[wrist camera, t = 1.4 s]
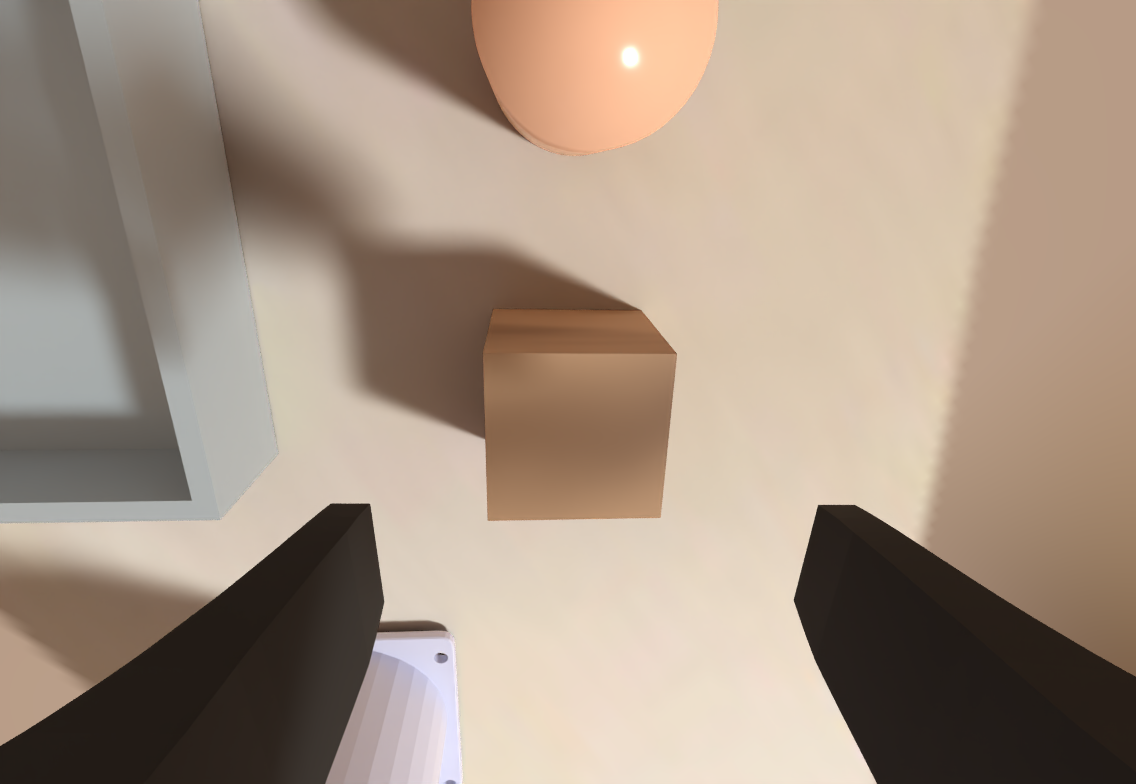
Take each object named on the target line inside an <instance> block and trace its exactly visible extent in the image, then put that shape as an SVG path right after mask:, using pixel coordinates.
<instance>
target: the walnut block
mask: <svg viewBox="0 0 1136 784" xmlns="http://www.w3.org/2000/svg"><path fill="white" fill-rule="evenodd" d="M676 359H677V353H676V352H675V351H674V350H673V349H672V347H671V346H670V345H669V344H668V342H667V341H666V340H665V339H664V338H663V336H662V335H661V334H660V333H659V331H658V330H657V329H656V328H655V327H654V325H653V324H652V323H651V322H650V320H649V319H648V318H647V317H646V316H645V314H644V313H643V312H642V311H641V310H566V309H493V312H492V316H491V320H490V325H489V329H488V333H487V338H486V342H485V346H484V351H483V374H484V408H485V443H486V477H487V512H488V521H498V520H557V519H616V518H660V517H661V507H662V497H663V487H664V477H665V468H666V458H667V448H668V438H669V428H670V418H671V408H672V398H673V388H674V378H675V369H676Z"/></svg>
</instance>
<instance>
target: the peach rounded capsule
mask: <svg viewBox="0 0 1136 784" xmlns="http://www.w3.org/2000/svg"><path fill="white" fill-rule="evenodd" d="M471 13H472V24H473V32H474V37H475V42H476V47H477V50H478V53H479V57H480V60H481V63H482V66H483V68H484V70H485V73H486V75H487V78H488V80H489V82H490V85H491V87H492V90H493V92H494V94H495V97H496V99H497V101H498V103H499V106H500V108H501V110H502V111H503V113H504V114H505V116H506V118H507V119H508V120H509V122H510V123H511V124H512V126H513V127H514V128H515V129H516V130H517V131H518V132H519V133H520V134H521V135H522V136H523V137H525V138H526V139H527V140H529V141H530V142H531V143H533V144H535V145H536V146H538V147H540V148H542V149H544V150H547V151H549V152H552V153H556V154H560V155H568V156H582V155H588V154H593V153H598V152H602V151H606V150H611V149H615V148H619V147H623V146H626V145H629V144H632V143H635V142H637V141H639V140H641V139H643V138H645V137H647V136H649V135H651V134H652V133H653V132H655V131H656V130H658V129H659V128H661V127H662V126H663V125H665V124H666V123H667V122H668V121H669V120H670V119H671V118H673V117H674V116H675V115H676V113H677V112H678V111H679V110H680V109H681V108H682V107H683V106H684V105H685V103H686V102H687V100H688V99H689V98H690V96H691V95H692V93H693V92H694V90H695V89H696V87H697V85H698V83H699V81H700V79H701V77H702V76H703V73H704V71H705V68H706V66H707V63H708V61H709V58H710V55H711V51H712V48H713V44H714V40H715V34H716V28H717V21H718V0H471Z"/></svg>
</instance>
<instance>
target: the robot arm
mask: <svg viewBox="0 0 1136 784" xmlns="http://www.w3.org/2000/svg"><path fill="white" fill-rule="evenodd" d="M794 602H795V605H796V608H797V611H798V614H799V617H800V620H801V623H802V626H803V629H804V632H805V635H806V637H807V640H808V643H809V645H810V648H811V651H812V653H813V656H814V659H815V661H816V663H817V665H818V667H819V669H820V671H821V673H822V676H823V678H824V680H825V682H826V684H827V686H828V688H829V690H830V692H831V694H832V696H833V698H834V700H835V702H836V704H837V706H838V708H839V710H840V712H841V714H842V716H843V718H844V720H845V721H846V723H847V725H848V727H849V729H850V731H851V733H852V735H853V737H854V739H855V741H856V743H857V745H858V747H859V749H860V751H861V753H862V755H863V757H864V759H865V761H866V763H867V765H868V767H869V769H870V771H871V773H872V774H873V776H874V778H875V780H876V782H877V784H1136V677H1135V676H1133V675H1132V674H1130V673H1127V672H1126V671H1124V670H1122V669H1121V668H1119V667H1117V666H1115V665H1113V664H1112V663H1110V662H1108V661H1106V660H1105V659H1103V658H1101V657H1099V656H1097V655H1096V654H1094V653H1092V652H1090V651H1089V650H1087V649H1085V648H1084V647H1082V646H1080V645H1079V644H1077V643H1075V642H1074V641H1072V640H1070V639H1069V638H1067V637H1065V636H1064V635H1062V634H1060V633H1058V632H1057V631H1055V630H1053V629H1052V628H1050V627H1048V626H1047V625H1045V624H1043V623H1042V622H1040V621H1038V620H1037V619H1035V618H1033V617H1032V616H1030V615H1028V614H1027V613H1025V612H1024V611H1022V610H1020V609H1019V608H1017V607H1015V606H1014V605H1012V604H1011V603H1009V602H1007V601H1006V600H1004V599H1002V598H1001V597H999V596H997V595H996V594H995V593H993V592H991V591H990V590H988V589H987V588H985V587H984V586H982V585H981V584H979V583H977V582H976V581H974V580H973V579H971V578H970V577H968V576H967V575H965V574H963V573H962V572H960V571H959V570H957V569H956V568H954V567H953V566H951V565H950V564H948V563H947V562H945V561H943V560H942V559H940V558H939V557H937V556H936V555H934V554H933V553H931V552H930V551H928V550H927V549H925V548H924V547H922V546H921V545H919V544H917V543H916V542H914V541H913V540H911V539H910V538H908V537H907V536H905V535H904V534H902V533H901V532H899V531H897V530H896V529H894V528H893V527H891V526H890V525H888V524H886V523H885V522H883V521H882V520H880V519H878V518H877V517H875V516H873V515H872V514H870V513H868V512H867V511H865V510H863V509H861V508H859V507H858V506H856V505H818V508H817V512H816V516H815V520H814V524H813V527H812V531H811V535H810V539H809V543H808V547H807V551H806V555H805V558H804V562H803V566H802V570H801V574H800V578H799V582H798V586H797V589H796V593H795V597H794ZM383 605H384V597H383V590H382V583H381V576H380V569H379V562H378V555H377V548H376V541H375V534H374V527H373V520H372V513H371V507H370V504H330V505H329V506H327V507H326V508H325V509H323V510H322V511H321V512H320V513H318V514H317V515H316V516H315V517H313V518H312V519H311V520H310V521H309V522H307V523H306V524H305V525H304V526H303V527H301V528H300V529H299V530H298V531H297V532H296V533H294V534H293V535H292V536H291V537H290V538H288V539H287V540H286V541H285V542H284V543H282V544H281V545H280V546H279V547H278V548H276V549H275V550H274V551H273V552H272V553H271V554H269V555H268V556H267V557H266V558H264V559H263V560H262V561H261V562H259V563H258V564H257V565H256V566H255V567H253V568H252V569H251V570H250V571H248V572H247V573H246V574H245V575H244V576H242V577H241V578H240V579H239V580H237V581H236V582H235V583H234V584H233V585H231V586H230V587H229V588H228V589H226V590H225V591H224V592H223V593H221V594H220V595H219V596H218V597H216V598H215V599H214V600H212V601H211V602H210V603H208V604H207V605H206V606H204V607H203V608H202V609H200V610H199V611H198V612H196V613H195V614H194V615H192V616H191V617H190V618H188V619H187V620H186V621H184V622H183V623H182V624H180V625H179V626H178V627H176V628H175V629H174V630H172V631H171V632H170V633H168V634H167V635H166V636H164V637H163V638H162V639H160V640H159V641H158V642H157V643H155V644H154V645H153V646H151V647H150V648H149V649H147V650H146V651H144V652H143V653H142V654H140V655H139V656H137V657H136V658H135V659H133V660H132V661H130V662H129V663H128V664H126V665H125V666H123V667H122V668H120V669H119V670H117V671H116V672H114V673H113V674H112V675H110V676H109V677H107V678H106V679H104V680H103V681H101V682H100V683H98V684H97V685H95V686H94V687H92V688H91V689H89V690H88V691H86V692H85V693H83V694H82V695H80V696H79V697H77V698H76V699H74V700H73V701H71V702H69V703H68V704H66V705H65V706H64V707H62V708H60V709H59V710H57V711H56V712H54V713H53V714H51V715H50V716H48V717H47V718H45V719H44V720H42V721H40V722H39V723H37V724H36V725H34V726H32V727H31V728H29V729H28V730H26V731H25V732H23V733H21V734H20V735H18V736H16V737H15V738H13V739H11V740H10V741H8V742H6V743H5V744H3V745H1V746H0V784H463V773H462V756H461V738H460V721H459V704H458V687H457V670H456V652H455V639H454V636H453V635H452V634H451V633H449V632H447V631H410V632H377V631H378V627H379V623H380V618H381V614H382V609H383ZM438 653H445V654H446V655H439V654H438Z"/></svg>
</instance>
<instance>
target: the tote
mask: <svg viewBox="0 0 1136 784" xmlns="http://www.w3.org/2000/svg"><path fill="white" fill-rule="evenodd" d="M277 455H278V449H277V443H276V437H275V432H274V426H273V420H272V415H271V409H270V403H269V398H268V392H267V386H266V381H265V375H264V369H263V364H262V358H261V352H260V347H259V341H258V335H257V330H256V324H255V319H254V313H253V307H252V302H251V296H250V290H249V285H248V279H247V273H246V268H245V262H244V256H243V251H242V245H241V239H240V234H239V228H238V222H237V217H236V211H235V205H234V200H233V194H232V188H231V183H230V177H229V171H228V166H227V160H226V154H225V149H224V143H223V137H222V132H221V126H220V120H219V115H218V109H217V103H216V98H215V92H214V86H213V81H212V75H211V69H210V64H209V58H208V52H207V47H206V41H205V35H204V30H203V24H202V18H201V13H200V7H199V1H198V0H0V523H55V522H119V521H184V520H221V519H222V518H223V516H224V515H225V514H226V513H227V512H228V511H229V510H230V508H231V507H232V506H233V505H234V504H235V503H236V502H237V500H238V499H239V498H240V497H241V496H242V495H243V494H244V492H245V491H246V490H247V489H248V488H249V487H250V486H251V484H252V483H253V482H254V481H255V480H256V479H257V478H258V476H259V475H260V474H261V473H262V472H263V471H264V469H265V468H266V467H267V466H268V465H269V464H270V463H271V461H272V460H273V459H274V458H275V457H276V456H277Z"/></svg>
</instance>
